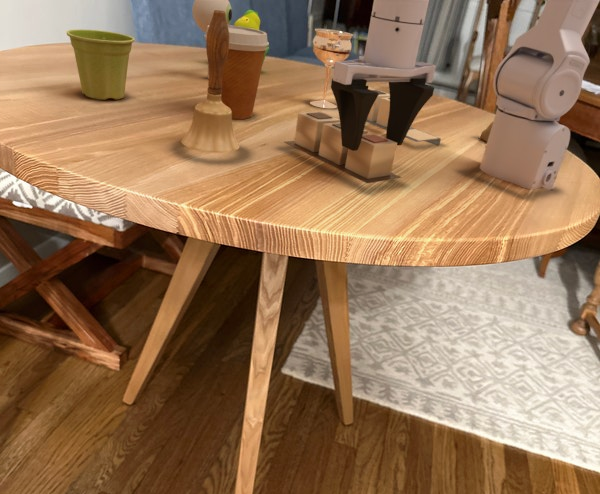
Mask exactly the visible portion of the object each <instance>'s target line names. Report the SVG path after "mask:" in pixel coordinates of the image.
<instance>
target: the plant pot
mask: <svg viewBox="0 0 600 494" xmlns="http://www.w3.org/2000/svg"><path fill="white" fill-rule="evenodd" d="M66 35H67V36H68V37H69V40H70V44H71V47H72V49H73V51H74V52H73V53H74V57H75V61H76V62H75V63H76V68H77V72H78V77H79V81H80V87H81V92H82V94H83V95H85V97H87V98H90V99H97V100H101V101H103V100H108V99H113V100H116V101H117V100H121V99H123V98H125V95H126V85H127V84H126V83H127V74H128V67H129V59H130V53H131V51H132V45H133V43H134V42H135V39H136V38H135V37H133V36H130V35H128V34H123V33H119V32H114V31H109V30H108V31H107V30H97V29H68V30H66Z"/></svg>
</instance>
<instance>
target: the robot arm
mask: <svg viewBox="0 0 600 494" xmlns="http://www.w3.org/2000/svg"><path fill="white" fill-rule="evenodd" d="M429 2H430V0H373V3H372V9H371V10H372V11H371V15H370V21H369V26H368V31H367V32H368V33H367V37H366V43H365V50H364V54H363V55H359V56H358V58H356V59H350V60H349V59H348V60H344V61H336V62H335V65H334V67H333V68H334V69H333V74H332V78H331V82H330V83H331V84H330V89H331V91H332V94H333V97H334V99H335V103H336V106H337V110H338V116H339V119H340V126H341V139H342V146H343V147H346V148H348V149H350V150H352V151H356V150H358V148H359V146H360V143H361V139H362V135H363V131H364V129H365V127H366V124H367V122H366V120H367V117H368V115H369V112H370V110H371V108H372V106H373V104H374V102H375V100H376V98H377V97H378V95H379V93H378V92H375V91H372V90H373V89H369V85H367V83H388V89H389V94H390V110H389V118H388V124H387V130H386V132H385V138H386V139H389V140H391V141H394V142H396V143H397V146H402V145H403V144H404V141H405V137H406V135H407V133H408V131H409V129H410V127H412V125H413V123H414V121H415V119H416V117H417V116H418V114H419V113H420V111H421V110H422V108H423V107H424V106H425V104H426V103H427V102H428V101H429V100H430V99H431V98H432V97H433V96H434V92H435V87H434V86H433V85H429V84H431V83H433V80H434V76H435V72H436V69H437V65H435V64H431V63H428V62H424V61H417V57H418V54H419V48H420V43H421V39H422V36H423V35H422V34H423V31H424V26H425V20H426V18H427V17H426V16H427V12H428V7H429ZM599 4H600V0H546V2H545V4H544V7H543V8H542V12H541V13H540V16H539V18H538V20H537V23H536V24H535V25H533V27H531V28H529V29H528V30H526V31H525V32H523V33H522V34H521V35H519V36H518V37H517V38H515V40H514V42H513V45H512V47H511V49H510V51H509V52H508V54H506V56H505V57H504V58H503V59H502V60H501V61H500V62H499V64H498V66H497V67H496V69H495V72H494V75H493V78H492V79H493V80H492V89H493V92H494V94H495V96H496V97H497V98H496V101H495V105H496V106H497V108H496V112H495V115H494V117H493V118H494V119H493V121H492V122H493V125H492V128H491V131H490V135H489V138H488V141H487V142H486V145H485V148H484V151H483V155H482V158H481V162H480V165H479V169H480V171H482V172H483V173H484V174H486V175H488V176H490V177H493V178H496V179H499V180H502V181H505V182H509V183H511V184H514V185H517V186H519V187H522V188H524V189H527V190H529V191H530V190H531V191H532V190H536V189H537V190H538V189H540V188H543V189H546V190H549V191H551V190H555V188H556V184H555V182H556V179H557V176H558V174H559V172H560V168H561V166H562V164H563V160H564V159H565V157H566V156H565V155H566V154H567V153H566V152H567V149H568V147H569V144H570V141H571V129H570V128H569V127H568V126H566V125H564V124H560V123H559V122H560V119H561V117H562V116H564V115H565V114H567V113H568V112H569V111H570V110H571V109H572V107H573V106H574V105H575V104H576V103H577V101H578V99H579V96H580V94H581V90H582V87H583V79H584V75H585V73H586V70H587V69H588V66H589V65H590V63H591V62H590V61H591V60H590V57H589V54H588V52H587V51H586V48H585V46H584V44H583V41H582V38H583V36H584V34H585V31H586V30H587V28H588V26H589V23H590V21H591V19H592V17H593V15H594V13H595V11H596V9H597V7H598V5H599ZM546 57H552V59H553V60H551V59H549V58H548V59H547V58H546ZM426 83H428V84H426Z"/></svg>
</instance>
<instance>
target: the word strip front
mask: <svg viewBox="0 0 600 494" xmlns="http://www.w3.org/2000/svg"><path fill="white" fill-rule="evenodd" d="M368 132H369V131H368V130H366V129H365V128H364V131H363V134H368ZM284 143H285V144H287V145H289V146H291V147H293V148H294V149H297V150H299V151H301V152H303V153H305V154H307V155H309V156H311V157H313V158H314V159H317V160H319V161H321V162H323V163H325V164H327V165H329V166H331V167H334V168H336V169H337V170H339V171H341V172H343V173H346V174H347V175H349V176H352V177H354V178H356V179H358V180H360V181H361V182H364V183H366V184H373V183H379V182H383V181H389V180H395V179H401V178H402V177H401V176H400V175H398V174H396V173H393V172H391V174H390V175H388V176H382V177H376V178H370V179H367V178H365V177H363V176H361V175H359V174H357V173H354V172H352V171H350V170H348V169H346V168H345V165H346V159H347V153H348V148H346V147H343V146H342V139H341V126H340V118H337V117H335V116H333V115H330V114H328V113H325V112H323V111H307V112H306V111H305V112H297V120H296V126H295V135H294V140H288V141H284Z"/></svg>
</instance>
